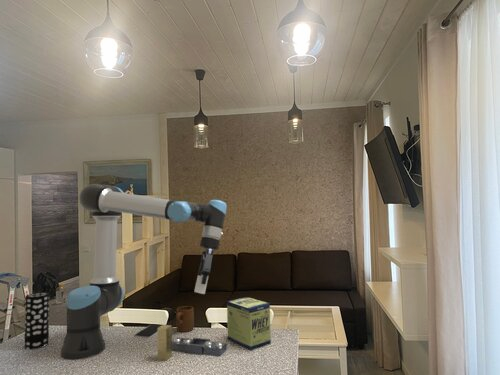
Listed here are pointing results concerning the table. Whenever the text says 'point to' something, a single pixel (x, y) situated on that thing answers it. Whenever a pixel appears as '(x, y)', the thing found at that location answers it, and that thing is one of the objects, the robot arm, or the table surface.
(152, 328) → the smartphone
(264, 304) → the protein box
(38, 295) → the white-spotted black cylinder
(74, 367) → the table surface
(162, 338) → the gold block
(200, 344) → the grey link plate
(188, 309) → the mug
